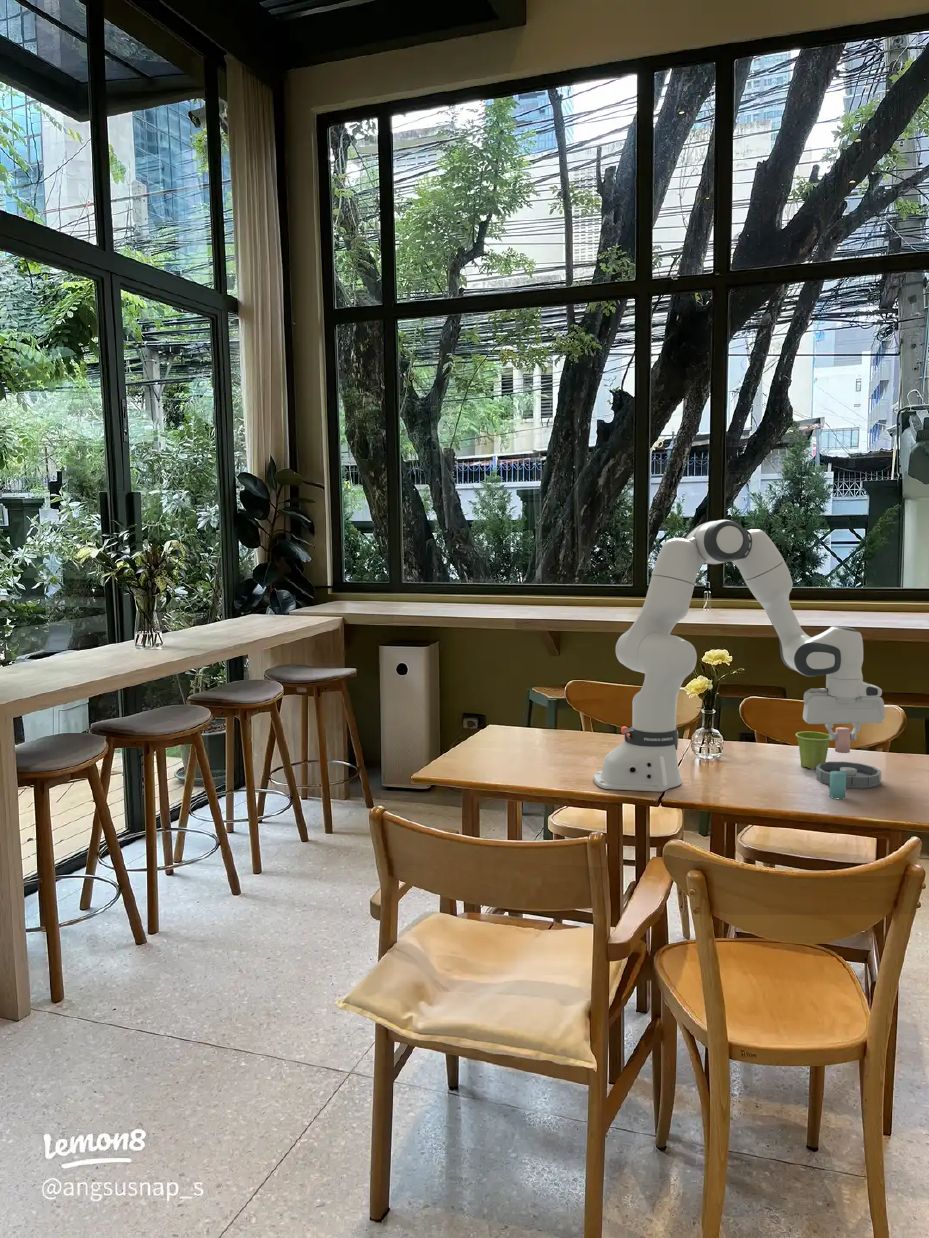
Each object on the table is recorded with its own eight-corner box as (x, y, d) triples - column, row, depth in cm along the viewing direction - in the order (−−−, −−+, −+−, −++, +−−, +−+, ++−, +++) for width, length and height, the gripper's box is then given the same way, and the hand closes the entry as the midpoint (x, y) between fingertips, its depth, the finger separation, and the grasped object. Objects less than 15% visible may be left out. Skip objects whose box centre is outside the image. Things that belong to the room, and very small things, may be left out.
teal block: (832, 799, 220) (833, 774, 219) (827, 794, 223) (827, 770, 223) (847, 799, 220) (848, 774, 219) (842, 794, 223) (842, 770, 223)
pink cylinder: (838, 753, 237) (838, 730, 237) (832, 749, 241) (833, 727, 240) (852, 752, 237) (852, 730, 237) (846, 749, 241) (847, 727, 240)
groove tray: (829, 789, 228) (829, 777, 228) (807, 772, 243) (808, 761, 243) (890, 788, 227) (891, 777, 227) (865, 772, 243) (865, 761, 242)
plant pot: (826, 762, 253) (827, 731, 252) (835, 771, 244) (836, 739, 243) (791, 761, 255) (792, 731, 254) (799, 770, 245) (799, 738, 244)
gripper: (808, 690, 234) (807, 743, 236) (888, 689, 234) (886, 742, 235) (799, 686, 241) (798, 737, 242) (877, 685, 240) (876, 736, 242)
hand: (842, 739), depth 239 cm, fingers closed on pink cylinder, 4 cm apart
